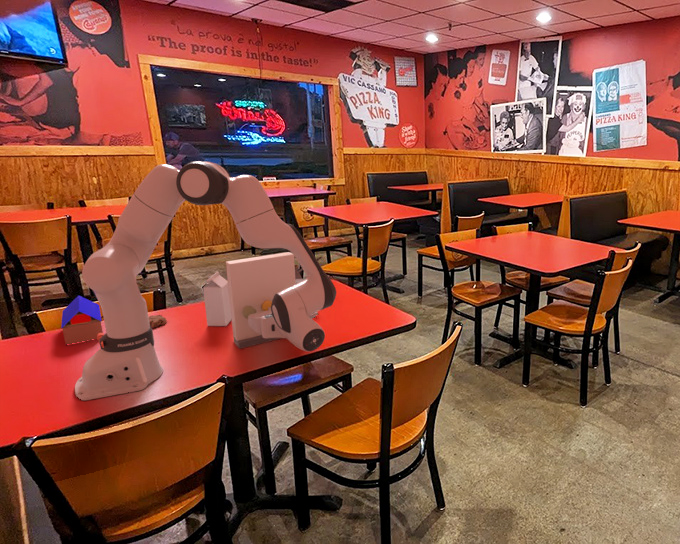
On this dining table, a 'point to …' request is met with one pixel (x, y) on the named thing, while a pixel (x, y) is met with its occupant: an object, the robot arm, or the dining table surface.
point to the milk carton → (217, 301)
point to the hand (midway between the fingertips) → (272, 308)
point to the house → (81, 321)
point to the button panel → (256, 290)
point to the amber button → (266, 305)
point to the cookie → (156, 320)
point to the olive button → (248, 311)
